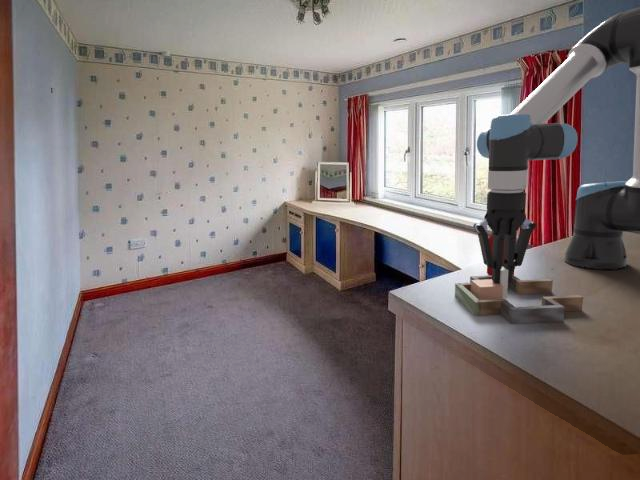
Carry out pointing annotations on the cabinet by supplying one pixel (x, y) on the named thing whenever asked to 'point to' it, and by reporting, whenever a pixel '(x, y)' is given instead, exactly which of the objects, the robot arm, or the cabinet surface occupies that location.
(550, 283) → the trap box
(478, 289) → the block
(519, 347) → the cabinet surface
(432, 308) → the cabinet surface
